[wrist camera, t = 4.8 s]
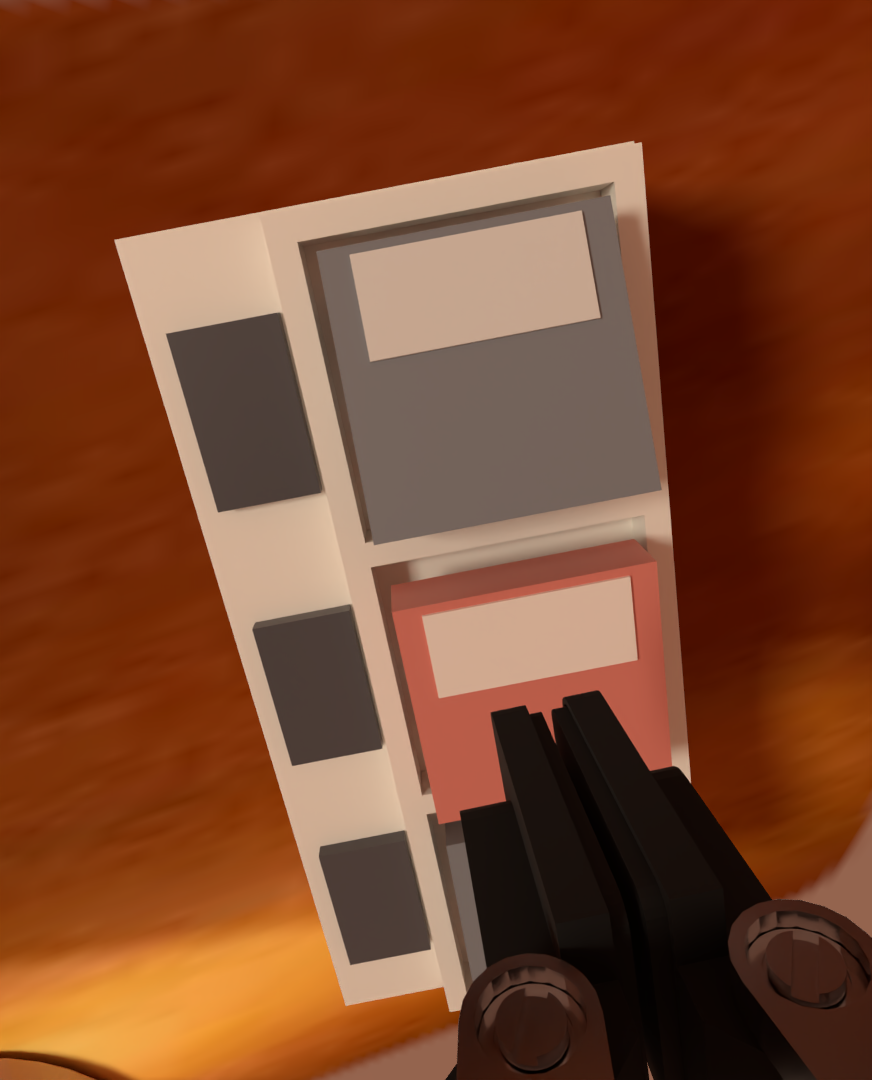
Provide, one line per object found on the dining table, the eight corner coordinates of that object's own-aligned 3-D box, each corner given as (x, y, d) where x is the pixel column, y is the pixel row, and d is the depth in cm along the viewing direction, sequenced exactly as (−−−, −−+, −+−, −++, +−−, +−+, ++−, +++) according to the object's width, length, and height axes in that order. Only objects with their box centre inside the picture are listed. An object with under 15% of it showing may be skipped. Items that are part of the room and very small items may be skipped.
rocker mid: (651, 743, 18) (674, 780, 16) (435, 784, 18) (438, 826, 16) (634, 539, 16) (657, 562, 14) (391, 585, 16) (391, 613, 14)
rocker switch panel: (642, 824, 26) (712, 966, 21) (354, 880, 26) (343, 1037, 21) (573, 183, 19) (650, 129, 14) (182, 257, 19) (95, 234, 14)
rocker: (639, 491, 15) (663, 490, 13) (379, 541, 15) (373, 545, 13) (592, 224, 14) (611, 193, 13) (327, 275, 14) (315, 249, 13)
